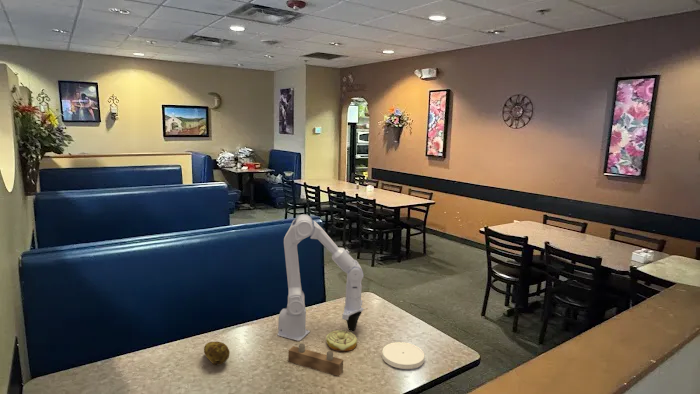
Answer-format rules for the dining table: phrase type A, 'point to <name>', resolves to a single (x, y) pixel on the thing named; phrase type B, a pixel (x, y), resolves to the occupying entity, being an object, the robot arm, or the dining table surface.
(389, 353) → the plastic lid
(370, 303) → the dining table surface
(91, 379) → the dining table surface
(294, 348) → the bar
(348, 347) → the decorated donut
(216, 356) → the potato
